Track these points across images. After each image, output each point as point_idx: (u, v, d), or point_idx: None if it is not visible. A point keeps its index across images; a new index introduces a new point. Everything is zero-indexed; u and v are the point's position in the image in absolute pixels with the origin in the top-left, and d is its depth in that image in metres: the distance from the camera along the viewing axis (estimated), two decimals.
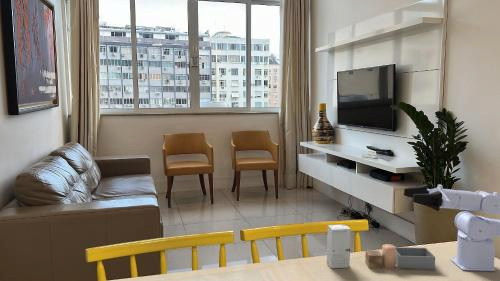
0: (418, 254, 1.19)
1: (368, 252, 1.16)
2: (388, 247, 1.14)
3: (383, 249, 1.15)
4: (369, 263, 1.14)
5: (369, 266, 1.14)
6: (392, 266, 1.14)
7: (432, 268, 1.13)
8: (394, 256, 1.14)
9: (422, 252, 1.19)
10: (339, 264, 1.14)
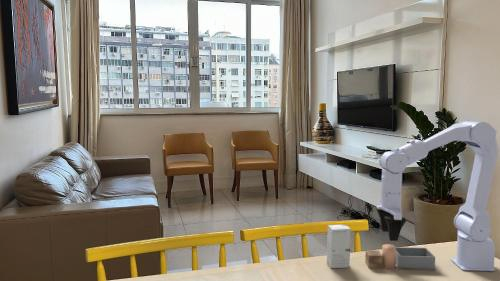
0: (418, 254, 1.19)
1: (368, 252, 1.16)
2: (388, 247, 1.14)
3: (383, 249, 1.15)
4: (368, 263, 1.14)
5: (369, 266, 1.14)
6: (392, 266, 1.14)
7: (432, 268, 1.13)
8: (394, 256, 1.14)
9: (422, 252, 1.19)
10: (339, 264, 1.14)
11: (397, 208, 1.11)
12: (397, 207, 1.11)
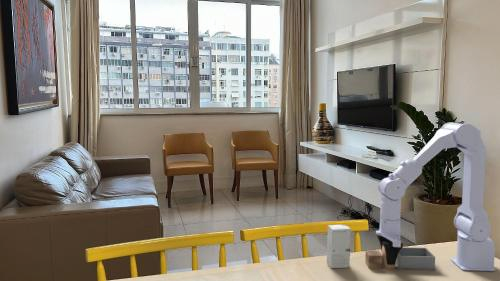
0: (418, 254, 1.19)
1: (368, 252, 1.16)
2: None
3: (383, 249, 1.15)
4: (368, 263, 1.14)
5: (369, 266, 1.14)
6: (392, 266, 1.14)
7: (432, 268, 1.13)
8: None
9: (422, 252, 1.19)
10: (339, 264, 1.14)
11: (396, 234, 1.12)
12: (396, 233, 1.12)
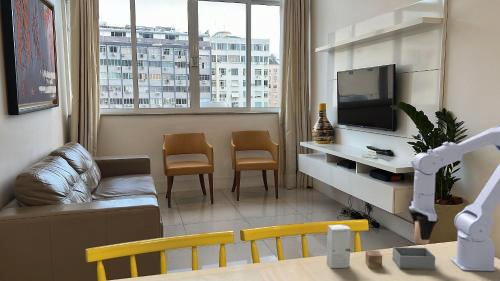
0: (418, 254, 1.19)
1: (368, 252, 1.16)
2: None
3: (416, 225, 1.14)
4: (368, 263, 1.14)
5: (369, 266, 1.14)
6: (426, 242, 1.13)
7: (432, 268, 1.13)
8: None
9: (422, 252, 1.19)
10: (339, 264, 1.14)
11: (430, 209, 1.12)
12: (431, 208, 1.12)
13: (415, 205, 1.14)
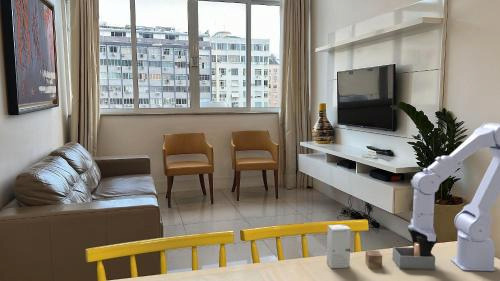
0: None
1: (368, 252, 1.16)
2: None
3: (416, 246, 1.15)
4: (368, 263, 1.14)
5: (369, 266, 1.14)
6: None
7: (432, 268, 1.13)
8: None
9: None
10: (339, 264, 1.14)
11: (430, 229, 1.12)
12: (430, 228, 1.12)
13: (414, 224, 1.14)
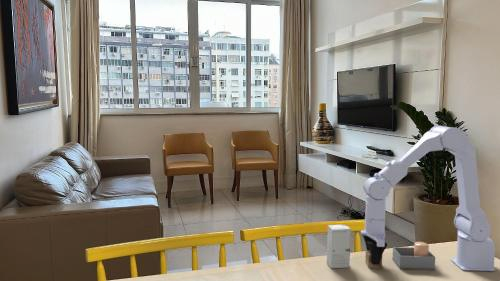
0: None
1: (368, 252, 1.16)
2: (421, 244, 1.15)
3: (416, 247, 1.15)
4: (368, 263, 1.14)
5: (369, 266, 1.14)
6: None
7: (432, 268, 1.13)
8: (427, 253, 1.14)
9: None
10: (339, 264, 1.14)
11: (380, 234, 1.12)
12: (381, 233, 1.12)
13: (366, 229, 1.14)
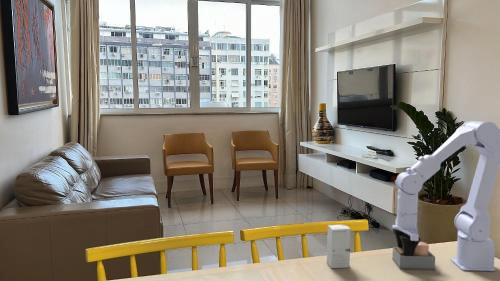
0: None
1: (399, 249, 1.16)
2: (421, 244, 1.15)
3: (416, 247, 1.15)
4: None
5: None
6: None
7: (432, 268, 1.13)
8: (427, 253, 1.14)
9: None
10: (339, 264, 1.14)
11: (413, 228, 1.12)
12: (413, 227, 1.13)
13: (398, 224, 1.14)
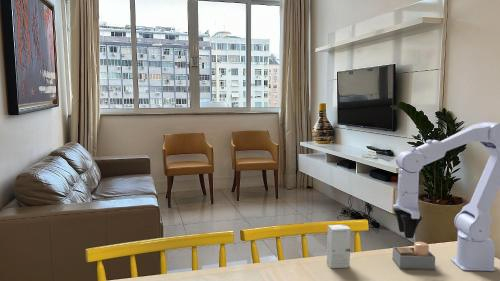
0: None
1: (399, 249, 1.16)
2: (421, 244, 1.15)
3: (416, 246, 1.15)
4: None
5: None
6: None
7: (432, 268, 1.13)
8: (427, 253, 1.14)
9: None
10: (339, 264, 1.14)
11: (414, 207, 1.12)
12: (414, 206, 1.12)
13: (399, 203, 1.14)
